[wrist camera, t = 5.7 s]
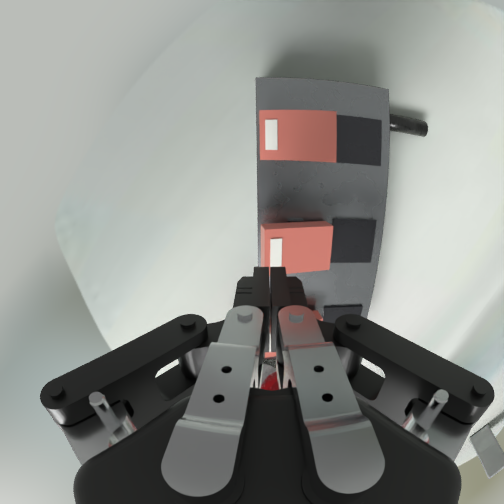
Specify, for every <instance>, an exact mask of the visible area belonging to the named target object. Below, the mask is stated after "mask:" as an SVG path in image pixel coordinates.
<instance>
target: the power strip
mask: <svg viewBox="0 0 504 504" xmlns="http://www.w3.org/2000/svg"><path fill="white" fill-rule="evenodd" d="M259 110H322V111H336V116H337V149H336V163H332V162H316V161H293V160H260V126H259ZM256 126H257V201H258V267H261V224H271V223H291V222H312V221H327V222H328V223H330V224H331V225H333V237H332V248H331V259H330V268H329V270H321V271H311V272H301V273H291V274H287V277H288V276H296V277H297V278H298V279H300V280H301V281H302V284H303V288H304V293H305V296H306V300H307V304H308V308H309V309H310V310H312V311H316V310H318V312H319V313H320V315H321V317H322V318H323V321H324V322H329V323H335V321H336V319H337V318H338V317H340V316H342V315H345V314H356V315H360V316H362V317H364V318H366V319H367V316H368V311H369V307H370V302H371V298H372V293H373V288H374V283H375V278H376V272H377V266H378V261H379V254H380V248H381V241H382V234H383V226H384V217H385V208H386V198H387V185H388V169H389V139H390V131H396V132H402V133H407V134H413V135H418V136H423V137H425V136H426V135H427V132H428V126H427V123H426V122H425V121H422V120H417V119H413V118H408V117H403V116H398V115H393V114H389V90H388V89H384V88H379V87H373V86H368V85H361V84H355V83H347V82H339V81H330V80H319V79H304V78H276V77H260V78H256ZM269 281H270V276H269ZM265 359H276V356H274V357H267V358H265Z"/></svg>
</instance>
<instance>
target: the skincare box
mask: <svg viewBox="0 0 504 504" xmlns="http://www.w3.org/2000/svg"><path fill="white" fill-rule="evenodd" d="M470 442H471V444H472V445H473V447H474V449H475V451H476V453H477V455H478V457H479V459H480V461H481V463H482V465H483V468H484V470H485V472H486V474H487V477H488V479H490V478H491V477H492V476H494V475H495V474H496V473H497V472H499V471H500V470H501V469H503V468H504V452H503V451H502V449H501V447H500V445H499V443H498V441H497V440H496V438H495V436H494V434H493V433H492V431H491V429H490V427H489V426H488V425H486V426H485V427H484V428H482V429H481V430H480V431H479V432H477V433H476V434H474V435H473V436H471V437H470Z"/></svg>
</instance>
